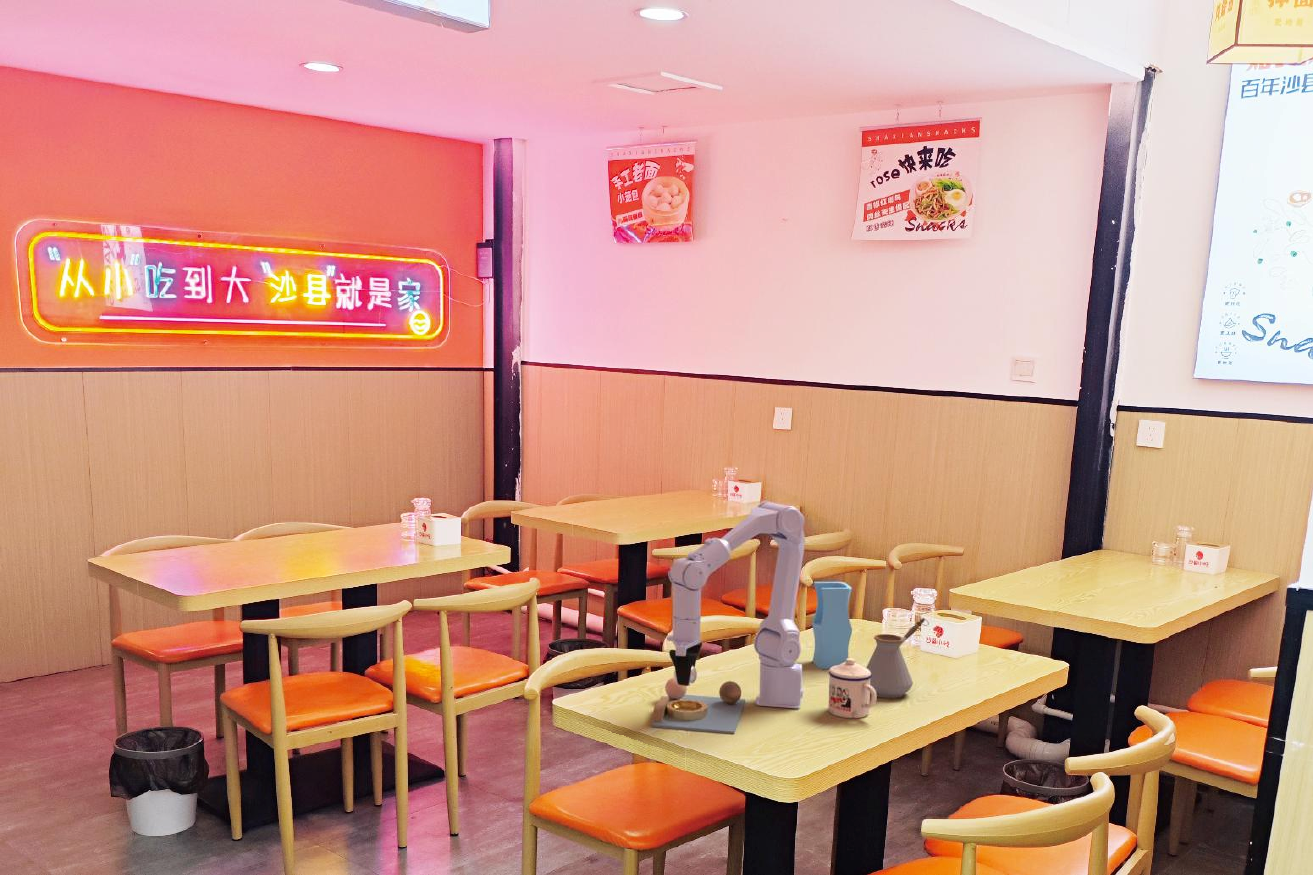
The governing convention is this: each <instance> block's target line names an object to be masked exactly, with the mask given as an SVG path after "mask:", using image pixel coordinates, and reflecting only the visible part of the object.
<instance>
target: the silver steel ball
mask: <svg viewBox="0 0 1313 875" xmlns="http://www.w3.org/2000/svg"><path fill="white" fill-rule="evenodd" d="M695 667H696V666H695ZM695 667H694V666H693V665H692V669H691V675H690V681H689V684H688V685H681V686H687V687H690V686H691V685H693V684H694V683H695V682H696V680H697V677H698V673H697V670H696V669H697V668H695ZM673 677H674V678H675V680H676V682H677V677H676V672H675V670H674V671H673ZM677 683H678V682H677Z"/></svg>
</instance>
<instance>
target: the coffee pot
mask: <svg viewBox="0 0 1313 875" xmlns="http://www.w3.org/2000/svg"><path fill="white" fill-rule="evenodd" d="M924 622H927V624H924ZM929 624H930V623H929V621H928V620H927V619H925V618H924V617H922V618H921V619H920V620H919V621H917V622H916V624H915V625H913V626H912V627H911V628H909V630H908V631H907V632H906V633H905V635H903V637H901V636H900V635H896V634H889V633H888V634H887V633H882V634H876V635H874V636H873V639H874V640H875V642H876V646H875V648H874V650H873V653H872V655H871V657H870V659H869V661H868V664H867V665H866V667H865V668H867V669H868V670H869V671H870V672H871V675H872V676H871V678H870V686H872V687H873V688H874V689H875V691H876V694H877V697H879V698H885V699H895V698H901V697H903V696H904V695H905V694H906V693H907V692H909V691H910V690H911V688H912V687H913V684H914V682H913V679H912V677H911V674H910V671H909V668H908V666H907V663H906V661H905V658H904V655H903V653H902V650H901V648H900V647H901V645H903V644H904V643H905V641H907V640H908V639H909V638H910V637H911V636H912V635H914V634H915V633H916V632H917V631H918V629H919V627H921V626H922V625H923V626H924V627H927V626H929Z"/></svg>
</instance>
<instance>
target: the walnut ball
mask: <svg viewBox="0 0 1313 875" xmlns="http://www.w3.org/2000/svg"><path fill="white" fill-rule="evenodd" d="M718 691H719V692H718V694H719V697H720V698H721V699H722V700H723V701H724V702H725V703H728V704H733V703H736V702H737V701H738V700H739V699H741V696H742V689H741V686H740V684H738V683H737V682H735V681H732V680H728V681H726V682H724V683H722V684H721V686H720V688H719V690H718Z"/></svg>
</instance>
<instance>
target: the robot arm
mask: <svg viewBox="0 0 1313 875" xmlns="http://www.w3.org/2000/svg"><path fill="white" fill-rule="evenodd" d="M804 525H805V516H804V515H803V514H802V513H801V511H800V510H799V509H798V508H797V507H796V506H793V505H786V504H780V503H776V502H772V501H768V500H764V501H761V502H760V503H759V504H758V505H757V506H755V507H753V508H752V509H751V510H750V512H749V514H747V516H746V517H745V518H744V519H742V520H741V521H739V523H738V524H737V525H736V526H734V527H733V528H732V529H731V530H729V531H728V532H727V533H726V534H724V536H722V537H720V538H719V537H712V538H710V537H708V538H707V539H705V540H704V544H702V545H701V546H700V547H698V548H697V549H696V550H695V551H690V552H689V553H688V554H687V557H682V558H681V557H680V558H677V559H676V560H675V561H674V562H673V563H672V565H671V567H670V570H668V572H667V574H668V579H669V580H670V582H671V584H672V591H673V597H672V598H673V601H672V602H673V604H672V608H673V609H672V634H671V635H667V637H666V641H667V642H672V643H673V645H674V647H675V649H670V650H669V658H670V659H671V662H672V664H673V667H674V671H675V672H676V677H677V682H678V685H688V684H689V681H690V675H691V669H692V665H693V666H694V667H696V662H697V660H698V655H699V653H700V650H701V648H702V646H703V642H702V638H701V615H702V614H701V610H702V608H701V607H702V588H703V587H704V586H705V585H706V583H707V581H708V578H709V576H710V575H711V574H712V573H713V572H715V571H716V570H718V568H721V566H723V565H724V564H726V563H727V562H728V561H729V560H730V558H731V553H732V552H733V551H734V550H736V549H737V548H738V547H740V546H742V545H743V544H744V543H746V542H748V541H749V540H751V539H753V538H755V536H757V535H759V534H767V535H770V537H771V538H772V540H774V542H775V543H776V544H777V545H778V551H777V558H776V564H775V571H774V578H773V584H772V589H771V590H772V591H771V597H770V605H769V608H768V616H767V617H765V619H763V620H762V621H761V622H760V624H759V628H758V632H757V633H756V635H755V636H754V640H753V648H754V650H755V653H757V655H758V660H759V661H760V664H759V693H758V695H757V698H756V701H755V705H756V706H761V707H762V706H763V707H772V708H773V707H774V708H788V709H796V710H797V709H800V708H801V704H802V699H803V696H804V695H803V694H804V692H803V691H804V690H803V664H801V663H796V662H797V661H798V660H799V658H800V655H801V652H802V651H801V650H802V648H801V642H800V636H801V635H800V634H801V632H800V629H799V628H798V626H797V625H796V623H795V622H794V617H795V610H796V603H797V596H798V591H799V584H800V579H801V574H802V573H801V572H802V566H803V559H804V552H805V546H806V538H805V537H806V536H805V532H804Z"/></svg>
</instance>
